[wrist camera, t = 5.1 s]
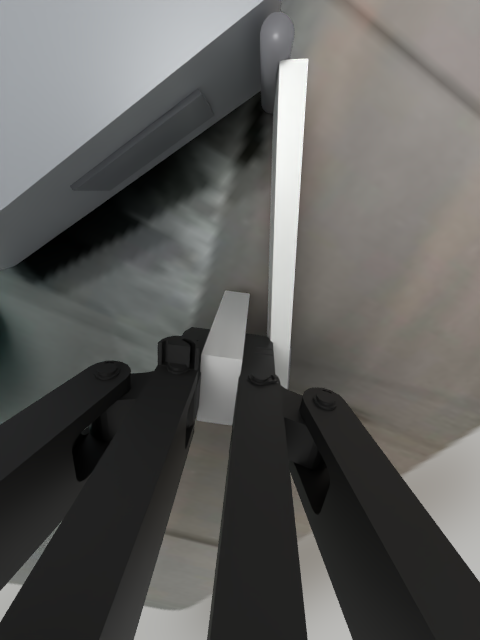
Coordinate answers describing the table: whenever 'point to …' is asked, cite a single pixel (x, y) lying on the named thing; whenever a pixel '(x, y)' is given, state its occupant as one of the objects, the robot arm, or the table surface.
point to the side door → (283, 175)
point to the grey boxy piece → (109, 98)
